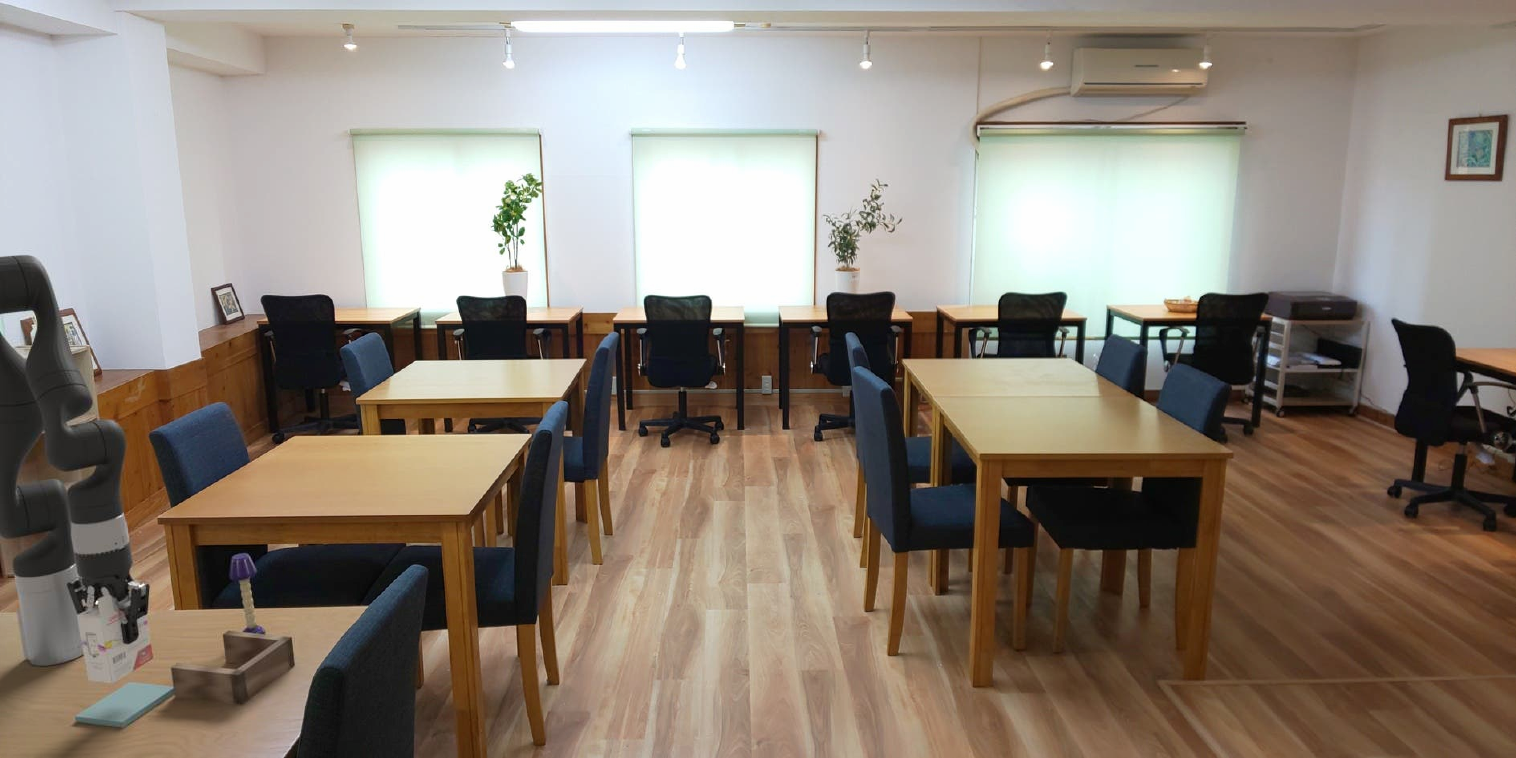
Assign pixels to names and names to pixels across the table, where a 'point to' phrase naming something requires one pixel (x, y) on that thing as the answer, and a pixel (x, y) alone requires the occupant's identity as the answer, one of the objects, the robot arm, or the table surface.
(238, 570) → the toy lamp
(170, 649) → the table surface
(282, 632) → the table surface
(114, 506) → the robot arm
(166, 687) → the teal coaster
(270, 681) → the walnut cubby
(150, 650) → the ink cartridge box
